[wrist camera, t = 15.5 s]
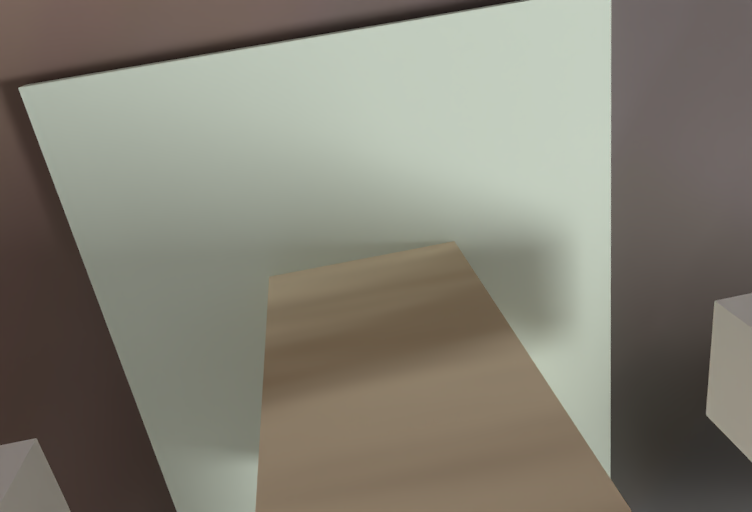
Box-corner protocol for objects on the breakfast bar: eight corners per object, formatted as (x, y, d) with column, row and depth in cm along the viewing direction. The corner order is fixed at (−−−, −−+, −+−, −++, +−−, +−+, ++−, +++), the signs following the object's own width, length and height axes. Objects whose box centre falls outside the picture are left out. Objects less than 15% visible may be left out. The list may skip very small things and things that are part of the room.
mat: (26, 84, 12) (18, 87, 11) (601, -14, 12) (611, -14, 12) (217, 603, 17) (215, 616, 17) (604, 517, 18) (610, 528, 18)
